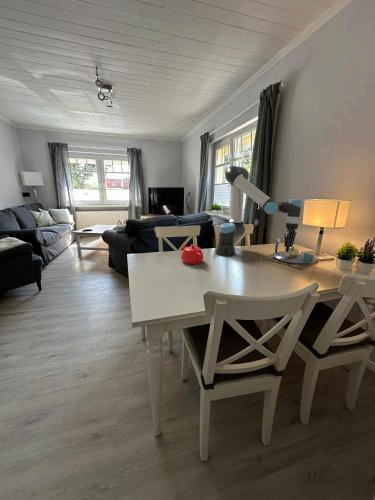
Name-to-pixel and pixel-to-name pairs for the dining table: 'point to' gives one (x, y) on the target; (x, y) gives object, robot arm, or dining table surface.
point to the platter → (300, 260)
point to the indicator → (276, 244)
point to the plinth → (296, 266)
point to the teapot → (192, 254)
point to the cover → (293, 253)
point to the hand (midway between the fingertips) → (287, 256)
